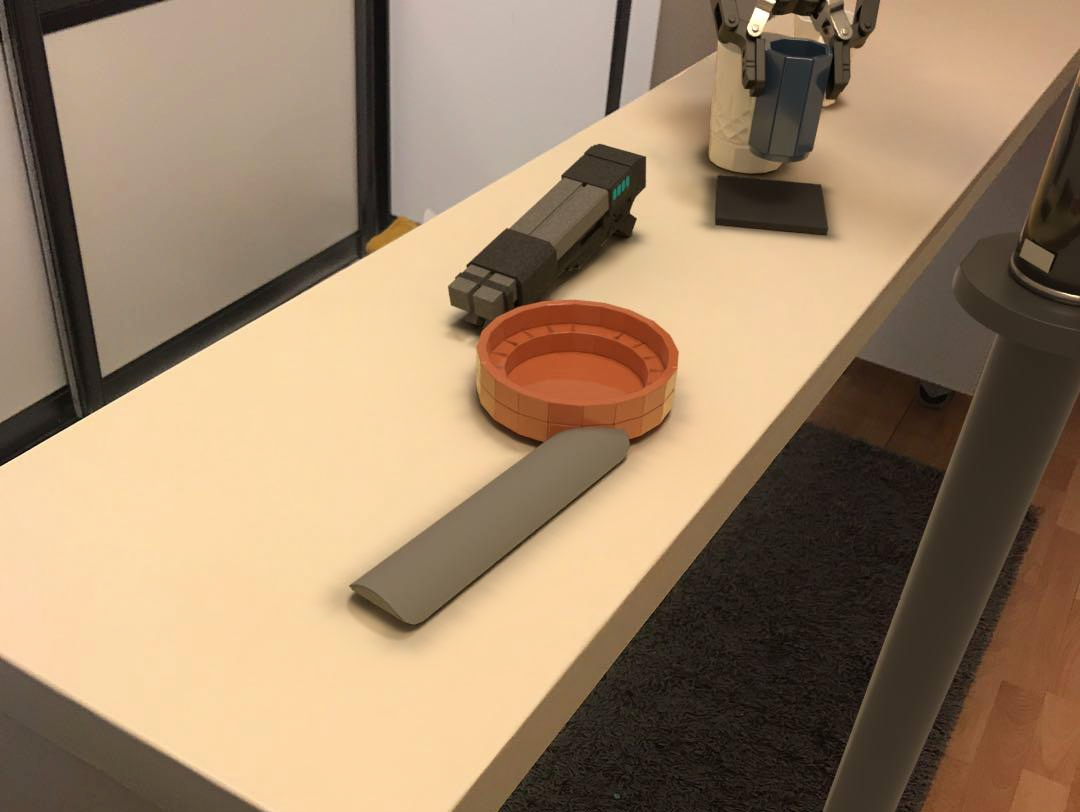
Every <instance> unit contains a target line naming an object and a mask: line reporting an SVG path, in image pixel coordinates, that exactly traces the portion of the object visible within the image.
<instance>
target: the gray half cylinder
mask: <svg viewBox="0 0 1080 812" xmlns="http://www.w3.org/2000/svg"><path fill="white" fill-rule="evenodd" d="M630 444H631V442H630V439H629V438H628V434H627V432H626V431H625V429H614V428H613V429H611V428H605V427H586V428H574V429H568V430H564V431H562V432H559V433H557V434H555V435H554V436H552V437H551V438H550V439H548V440H547V441H545V442H542V443H541V444H540V445H539V446H538V447H535V449H533V450H531V451H530V452H529V453H527V454H526V455H525V456H524V457H522V458H521V459H519V460H518V461H517V462H515V463H514V464H512V465H511V466H509V467H508V468H507V469H506V470H504V471H503V472H501V473H499V475H497V476H496V477H495V478H493V479H492V480H490V482H488V483H487V484H485V485H484V486H483V487H481V488H480V489H479V490H477V491H476V492H474V493H473V494H472V495H470V496H469V497H468V498H466V499H465V500H463V501H462V502H461V503H459V504H458V505H457V506H455V507H454V508H452V510H449V512H447V513H446V514H444V515H442V517H440V518H439V519H437V520H436V521H435V522H433V524H431V525H429V526H428V527H427V528H426V529H424V530H422V531H421V532H420V533H418V534H417V535H416V536H415V537H412V538H411V540H409V541H408V542H406V543H404V545H402V546H401V547H400V548H398V549H397V550H395V551H394V552H392V553H391V554H390V555H388V556H387V557H386V558H384V559H383V560H382V561H379V563H377V564H376V565H375V566H373V567H372V568H371V569H369V570H368V571H366V573H364V574H363V575H361V576H360V577H359V578H357V579H356V580H354V581H353V582H352V583H350V584H349V585H348V587H349V588H350V589H351V591H353V592H355V593H356V594H358V595H359V596H361V597H362V598H364V599H365V600H367V601H369V602H371V604H373V605H376V606H377V607H379V608H380V609H382V610H384V611H385V612H387V613H388V614H390V615H391V616H393V617H394V618H396V619H398V620H399V621H401V622H403V623H406V624H410V625H416V624H420V623H422V622H425V620H426V619H428V618H429V617H430V616H432V615H433V614H434V613H435V612H436V611H438V610H439V609H440V608H441V607H443V606H444V605H445V604H446V603H448V602H449V601H450V600H451V599H452V598H454V597H455V596H456V595H458V593H460V592H461V591H463V589H465V588H466V587H468V586H469V585H470V584H471V583H472V582H474V581H475V580H476V579H477V578H479V577H480V576H482V574H483V573H485V572H486V571H487V570H488V569H489V568H491V567H492V566H493V565H495V564H496V563H497V562H498V561H499V560H500V559H502V558H503V557H505V556H506V555H507V554H508V553H509V552H511V551H513V549H514V548H515V547H517V546H518V545H519V544H521V543H522V542H523V541H525V539H527V538H528V537H529V536H531V535H532V534H533V533H534V532H535V531H537V529H539V528H540V527H542V525H544V524H545V523H546V522H547V521H549V520H550V519H551V518H553V517H554V516H555V515H556V514H558V513H559V512H560V511H561V510H563V508H565V507H566V506H568V504H571V502H572V501H574V499H576V498H577V497H578V496H580V495H582V494H583V492H585V491H586V490H587V489H588V488H590V487H591V486H592V485H593V484H594V483H596V482H597V481H598V480H600V479H601V478H602V477H603V476H604V475H606V474H607V473H608V472H610V471H611V470H612V469H613V468H614V467H616V466H617V465H618V464H619V463H621V462H622V461H624V459H625V458H626V456H627V455H628V453H629V450H630Z"/></svg>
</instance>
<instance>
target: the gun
mask: <svg viewBox="0 0 1080 812" xmlns="http://www.w3.org/2000/svg"><path fill="white" fill-rule="evenodd" d="M560 178H561V179H560V180H559V181H558V182H557V183H556V184H555V185H554V186H553V187H552V188H550V190H548V191H547V193H545V194H544V195H543V196H542V197H541V198H540V199H539V200H538V201H537V202H536V203H535V204H533V206H531V208H529V209H528V210H527V211H526V212H525V213H524V214H523V215H522V216H520V218H518V220H516V221H515V222H514V224H512V225H511V226H510V227H506V228H505V229H503V231H501V232H500V233H499V234H498V235H497V236H496V237H495V238H493V240H491V241H490V242H489V243H488V244H487V245H486V246H484V248H483V249H482V250H481V251H480V252H478V254H477V255H475V256H474V257H473V258H472V259H471V260H470V261H469V262H468V263H467V264H466V265H465V266H466V269H464V270H463V271H462V272H459V273H458V274H457V275H456V276H455V277H454V280H453V281H452V282H450V283H449V284H448V285H447V291H448V296H449V302H450V306H451V307H454V308H457V309H459V310H462V311H465V312H467V315H466V318H465V322H468V323H470V324H473V325H476V326H479V327H483V329H485V328H486V327H487V326H488V325H489V324H490V323H491V322H492V321H493V320H494V319H495V318H496V317H498V316H500V315H502V314H504V313H506V312H509V311H511V310H513V309H515V308H517V307H520V306H524V305H529V304H533V303H536V301H537V300H538V299H539V298H540V297H541V296H542V295H543V294H544V293H545V292H546V291H547V290H548V288H549V286H551V284H552V283H553V282H554V281H556V279H557V278H558V277H559V276H560V275H561V274H562V273H563V272H564V271H565V272H570V271H571V270H572V269H574V270H580V269H581V268H582V267H583V266H584V264H585V263H586V262H587V261H589V259H591V257H592V256H593V255H594V254H595V253H596V252H598V251H599V250H600V248H601V247H602V246H603V245H604V244H605V243H606V241H607V240H609V239H610V238H611V236H613V234H618V235H620V236H623V237H626V238H631V237H632V234H633V231H634V229H635V225H636V222H637V220H638V218H637V217H636V216H635V215H633V214H631V210H632V208H633V205H634V202H635V200H636V198H637V197H638V196H639V195H640V193H641V192H643V191H644V190H645V189H646V188H647V156H646V155H643V154H638V153H635V152H631V151H628V150H625V149H620V148H617V147H613V146H609V145H606V144H602V143H597V144H593V145H591V146H590V147H589V148H588V149H587V150H586V151H584V152H583V154H582V155H581V156H580V157H579V158H578V159H577V160H576V161H575V162H574V163H573V164H571V165H570V166H569V168H567V169H566V170H565V171H564V172H563V173H562V174H561V176H560Z"/></svg>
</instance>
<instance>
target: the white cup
mask: <svg viewBox="0 0 1080 812" xmlns="http://www.w3.org/2000/svg"><path fill="white" fill-rule="evenodd" d="M779 37H791V36H790V35H787V34H783V33H782V34H781V33H778V32H770V31H763V32H762V34H761V39H765V40H770V39H774V38H779ZM715 56H716V57H715V66H714V76H713V84H712V85H713V86H712V94H711V96H712V97H711V106H710V107H711V108H710V123H709V126H710V133H709V134H710V135H709V143H708V158H709V160H710V161H711V162H712V163H713V164H714V165H715V166H717V167H718V168H721V169H724V170H728V171H730V172H734V173H735V172H736V173H742V174H765V173H769V172H772V171H773V172H774V171H776V170H778V168H780V167H781V165H782V164H783V163H782V162H773V161H768V160H765V159H762V158H759V157H757V156H755V155H753V154H752V153H751V152H750V151H749V149H748V132H749V126H750V120H751V114H752V108H753V102H754V97H750V95H749V89H744V87H743V85H742V55H741V50H740V48H739V47H738V46H737V45H735V44H733V43H730V42H729V43H728V44H723V43H721V42H719V40H718V39H717V44H716V55H715Z"/></svg>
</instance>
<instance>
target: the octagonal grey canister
mask: <svg viewBox="0 0 1080 812" xmlns="http://www.w3.org/2000/svg"><path fill="white" fill-rule="evenodd" d="M832 58H833V52H832V48H831V47H830V46H829V45H826V44H823V43H821V42H818V41H815V40H812V39H810V40H809V39H807V38H795V37H794V36H790V37H779V38H774V39H770V40H765V77H766V81H765V87H764V90H763V91H762V93H761V95H760V97H754V102H753V108H752V114H751V120H750V126H749V132H748V149H749V151H750V152H751V153H752V154H753V155H755V156H757V157H759V158H762V159H765V160H768V161H773V162H782V164H783V163H785V164H787V163H789V164H790V163H798V162H801V161H805V160H806V159H807V158H809V156H810V155H811V153H812V152H813V151H814V147H815V142H816V138H817V134H818V128H819V123H820V118H821V114H822V109H823V106H822V105H823V100H824V96H825V91H826V86H827V81H828V77H829V72H830V67H831V63H832Z"/></svg>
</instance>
